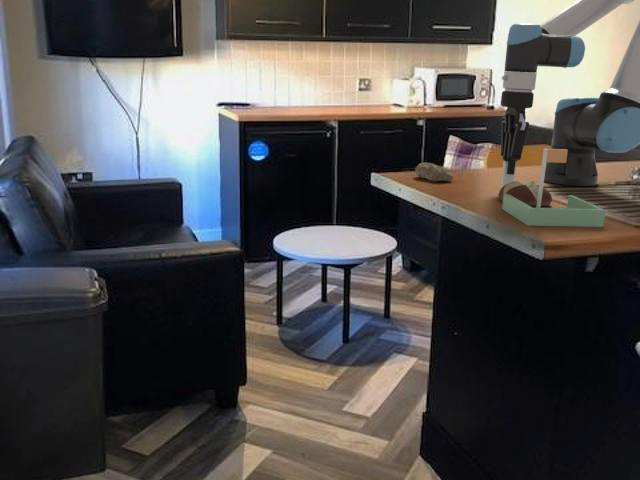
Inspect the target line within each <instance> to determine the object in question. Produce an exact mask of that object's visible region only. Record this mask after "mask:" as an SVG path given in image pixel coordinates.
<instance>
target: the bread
mask: <svg viewBox="0 0 640 480" xmlns="http://www.w3.org/2000/svg"><path fill="white" fill-rule="evenodd" d="M538 191H539V184H536V183H535V182H534V181H527V182H525V183H522V182H520V181H519V180H514V182H511V183H508V184H506V185H504V186H503V187H502V186H501V188H500V189H499V193H498V198H499V200H500V201H501V202H502V203H503V197H504V194H509V195H511V196H513V197H515V198H516V199H518V200H520V201H522V202H523V203H525V204H527V205H529V206H531V207H536V206H537V199H538ZM552 202H553V197H552V194H551V193H550V191H549V190H548V189H547V188H544V187H543V192H542V200H541V207H547V206H549V205H551V203H552Z"/></svg>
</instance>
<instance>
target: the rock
mask: <svg viewBox="0 0 640 480" xmlns="http://www.w3.org/2000/svg"><path fill="white" fill-rule="evenodd" d="M414 169H415V172H414V173H415V174H416V176H417V177H418V176H419V177H418V178H420V177H421V178H420V179H424V178H425V180H427V181H429V182H441V181H442V182H445V183H451V182H452V181H453V180H454V175H453V174H452V173H451V171H449V169H448V168H446V167H444V166H440V165H437V164H435V163H431V162H421V163H419V164H417V165H416V167H415V168H414Z"/></svg>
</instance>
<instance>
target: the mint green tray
mask: <svg viewBox="0 0 640 480" xmlns="http://www.w3.org/2000/svg"><path fill="white" fill-rule="evenodd" d="M567 152H568V150H567V149H551V148H543V153H542V161H541V167H540V176H539V177H540V178H539V184H538V185H539V191H538V199H537V206H535V207H533V206H529V205H527V204H525V203H523V202H522V201H520V200H518V199H516V198H515V197H513V196H511V195H509V194H504V197H503V202H502V206H501V207H502V208H501V209H502V210H503V211H504V212H506V213H507V214H509V215H511V216H512V217H514V218H515V219H516V220H518V221H520V222H522V223H523V224H524V225H526V226H530V227H531V226H537V227H574V228H575V227H579V228H580V227H581V228H582V227H583V228H585V227H587V228H589V227H590V228H604V224H605V223H604V222H605V217H606V212H607V211H606V209H604V208H601V207H599V206H597V205H595V204H593V203H591V202H588V201H586V200H584V199H582V198H579V197H577V196H575V195H572V194H571V195H568V199H567V205H566V208H564V207H561V208H559V207H557V208H556V207H542V206H541V200H542V192H543V188H544V184H545V181H544V177H545V169H546V162H555V163H566V160H567Z"/></svg>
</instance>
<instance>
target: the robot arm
mask: <svg viewBox="0 0 640 480" xmlns="http://www.w3.org/2000/svg"><path fill="white" fill-rule="evenodd" d="M634 1H635V0H575V1H574V2H572V3H571V4H570V5H568V6H566V7H565V8H563V9H562V10H560V11H559V12H558V13H557V14H555V15H553V16H552V17H550V18H548V20H546V21H545V22H543V23H541V24H535V23H514V24H511V26H510V27H509V30H508V35H507V40H506V41H507V42H506V53H505V61H504V73H503V75H502V76H501V80H502V88H503V89H504V90H503V91H502V92H501V96H500V97H501V98H500V106H501V107H504V108H506V110H505V114H504V116H502V117H501V118H500V125H501V126H500V127H501V129H500V131H501V132H500V133H501V135H500V156H501V157H502V160H503V164H502V172H501V179H500V181H501V182H500V187H501V188H502V187H503V186H504V185H506V184H508V183H511V182H515V177H516V176H515V174H516V165H517V162H518V161H520V160H521V159H522V154H523V151H524V150H523V149H524V145H525V140H526V135H527V132H528V129H529V126H530V122H529V121H526V109H531V108H532V107H533V104H534V95H535V94H534V92H533V91H535V89H536V82H537V71H538V67H550V68H563V69H566V68H575V67H577V66H579V65H580V64H581V63H582V62H583V59H584V58H585V51H586V44H585V42H584V40H583V39H582V38H581V37H580V36H577V35H579V34H581V33H582V32H583V31H585V30H586V29H588V28H589V27H591V26H592V25H594V24H595V23H596V22H598V21H599V20H601V19H602V18H604V17H606V15H608V14H610V13H611V12H613V11H614V10H616V9H617V8H618V7H620V6H622V5H623V4H624V5H628V4H630V3H633V2H634ZM611 82H612V83H611V85H610V87H609V88H608V89H606V90H604V91H601V92H600V95H599V97H572V98H562V99H560V100H558V102H557V105H556V109H555V112H554V120H553V121H554V122H553V131H552V138H551V146H550V149H567V150H568V152H567V160H566V163H555V162H546V169H545V177H544V182H547V183H550V184H555V185H556V184H557V185H564V186H572V185H573V186H574V187H591V186H597V185H598V180H599V174H598V168H597V162H596V157H595V154H596V150H599V151H600V150H601V151H603V152H605V153H616V154H620V153H621V154H622V153H627V152H629V151H631V150H634V149H635V148H637V146H639V145H640V20H639V21H638V23H637V25H636V28H635V30H634V32H633V34H632V37H631V39H630V42H629V44H628V46H627V48H626V51H625V53H624V55H623V58H622V59H621V62H620V65H619V67H618V68H617V71H616V74H615V76H614V77H613V80H612V81H611ZM596 184H597V185H596Z"/></svg>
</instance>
